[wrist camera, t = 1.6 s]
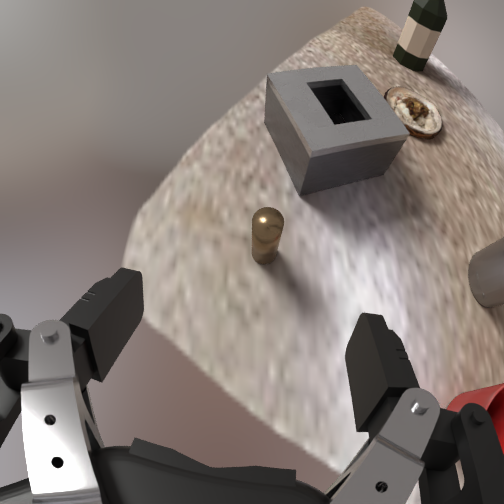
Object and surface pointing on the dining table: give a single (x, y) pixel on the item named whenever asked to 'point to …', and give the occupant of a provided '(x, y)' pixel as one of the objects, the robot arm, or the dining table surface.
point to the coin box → (331, 126)
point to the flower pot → (485, 405)
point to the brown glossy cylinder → (266, 234)
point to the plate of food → (414, 112)
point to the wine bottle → (420, 33)
